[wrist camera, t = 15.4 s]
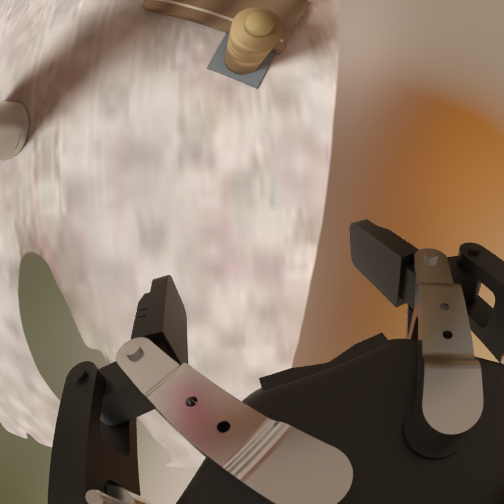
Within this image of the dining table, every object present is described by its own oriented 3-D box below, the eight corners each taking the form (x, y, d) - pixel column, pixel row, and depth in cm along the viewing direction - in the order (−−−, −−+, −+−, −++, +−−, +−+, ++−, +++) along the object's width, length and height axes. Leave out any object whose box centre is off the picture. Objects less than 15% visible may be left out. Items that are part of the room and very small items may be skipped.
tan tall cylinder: (218, 66, 29) (223, 32, 17) (233, 39, 28) (246, -4, 16) (251, 80, 30) (273, 53, 19) (265, 52, 29) (294, 16, 17)
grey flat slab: (206, 68, 29) (206, 68, 29) (227, 32, 27) (227, 32, 27) (256, 88, 31) (257, 88, 31) (275, 53, 29) (276, 52, 29)
